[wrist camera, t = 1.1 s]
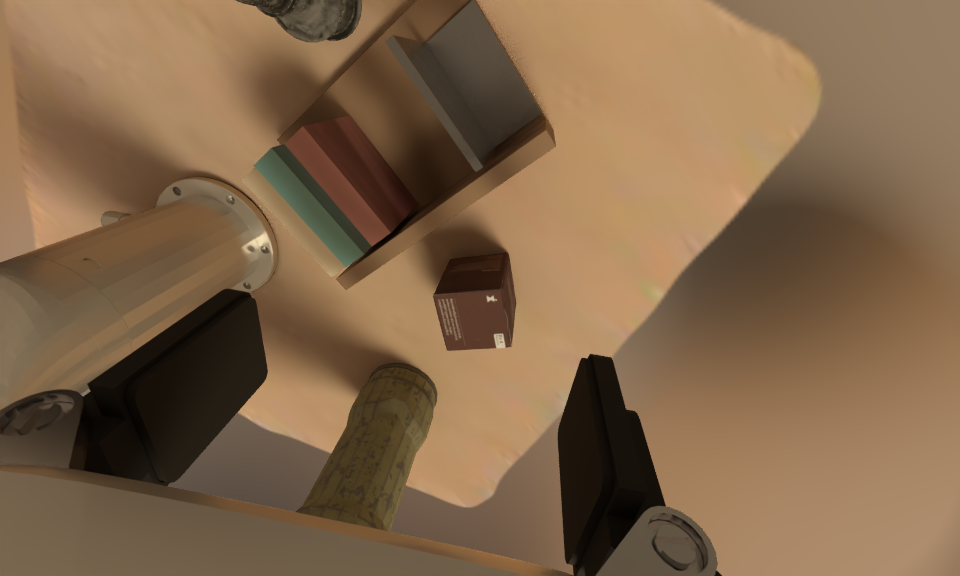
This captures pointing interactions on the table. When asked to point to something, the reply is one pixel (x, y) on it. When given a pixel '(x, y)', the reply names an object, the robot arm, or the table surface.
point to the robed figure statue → (375, 449)
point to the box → (476, 303)
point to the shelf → (417, 136)
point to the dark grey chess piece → (313, 17)
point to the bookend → (468, 83)
